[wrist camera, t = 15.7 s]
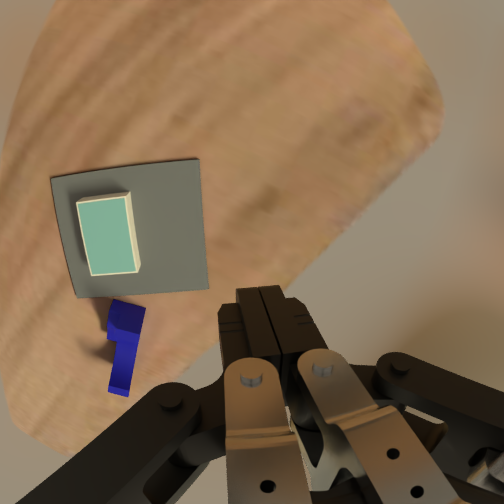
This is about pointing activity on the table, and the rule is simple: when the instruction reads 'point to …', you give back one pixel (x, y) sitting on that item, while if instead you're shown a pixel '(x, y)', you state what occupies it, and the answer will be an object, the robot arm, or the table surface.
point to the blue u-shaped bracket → (124, 343)
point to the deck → (109, 234)
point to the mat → (141, 228)
